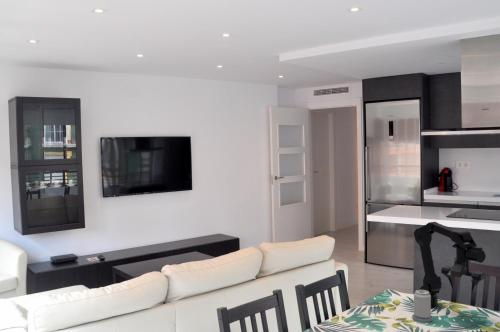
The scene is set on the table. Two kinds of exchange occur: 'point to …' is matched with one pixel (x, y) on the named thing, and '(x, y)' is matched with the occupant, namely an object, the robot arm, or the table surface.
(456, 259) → the robot arm
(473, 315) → the table surface
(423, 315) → the can
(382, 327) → the table surface
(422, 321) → the coaster
